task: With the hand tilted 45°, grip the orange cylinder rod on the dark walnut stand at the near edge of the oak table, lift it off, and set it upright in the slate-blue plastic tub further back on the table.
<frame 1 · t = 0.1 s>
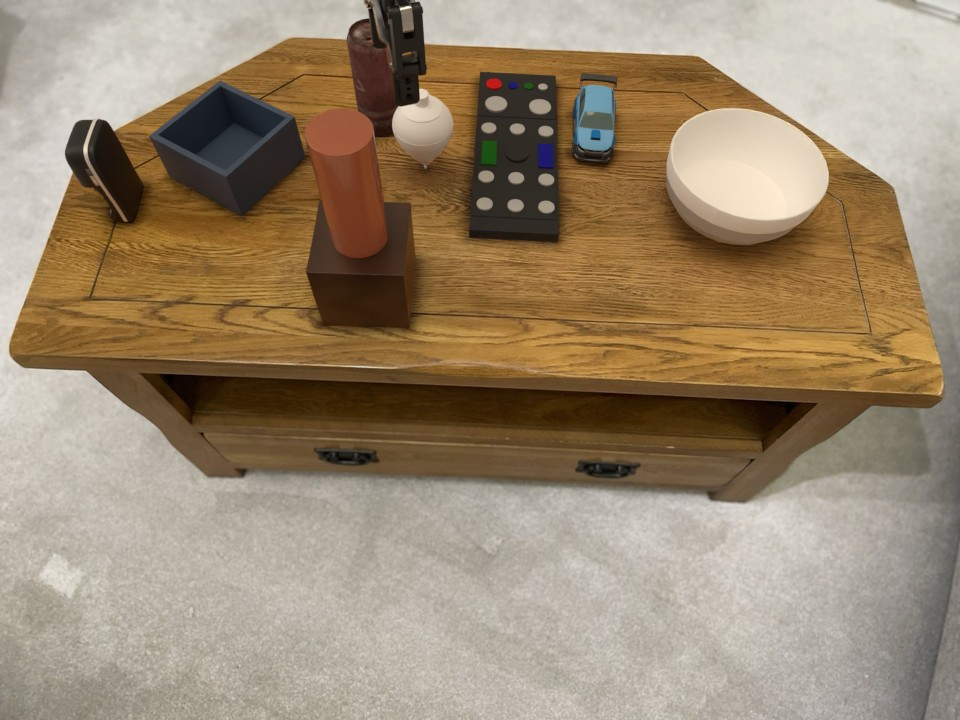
hand: (395, 73, 62), 24 cm above the tv stand, tool pointing down, fingers open, 8 cm apart
orange cylinder rod: (360, 236, 70), point 10 cm above the tv stand, touching stand
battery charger: (125, 205, 85), on the tv stand
spinning top: (425, 169, 90), on the tv stand
bowl: (723, 212, 87), on the tv stand
can: (382, 124, 94), on the tv stand
toy car: (591, 137, 93), on the tv stand
remote control: (515, 155, 91), on the tv stand
stand: (371, 291, 79), on the tv stand
tub: (238, 166, 89), on the tv stand
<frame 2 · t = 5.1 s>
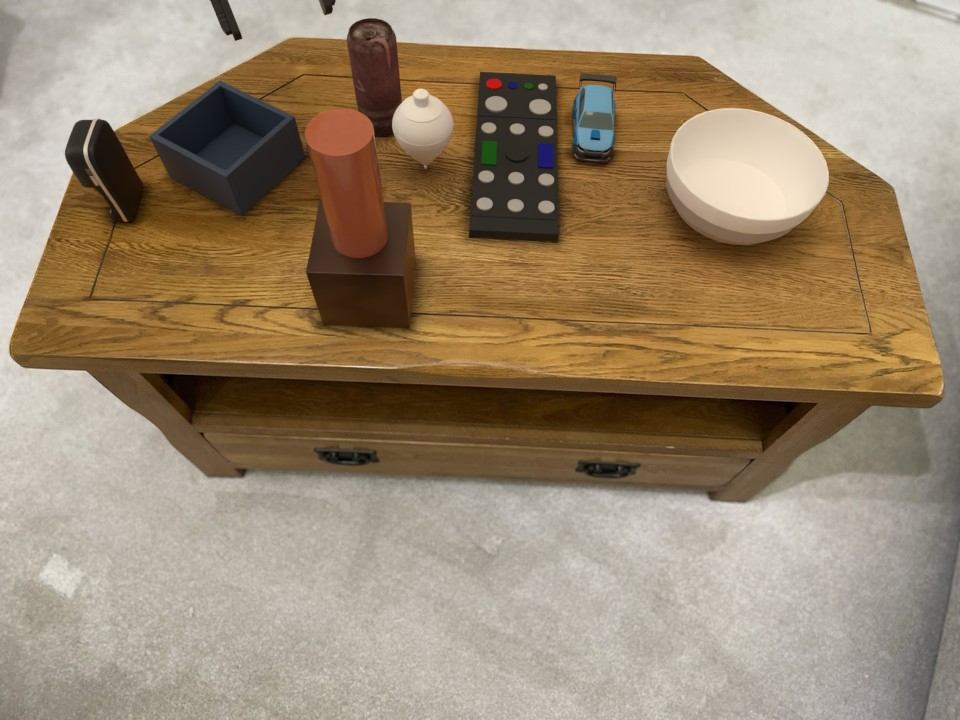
hand: (284, 25, 60), 27 cm above the tv stand, tool tilted 45°, fingers open, 8 cm apart
nothing on the tv stand moved.
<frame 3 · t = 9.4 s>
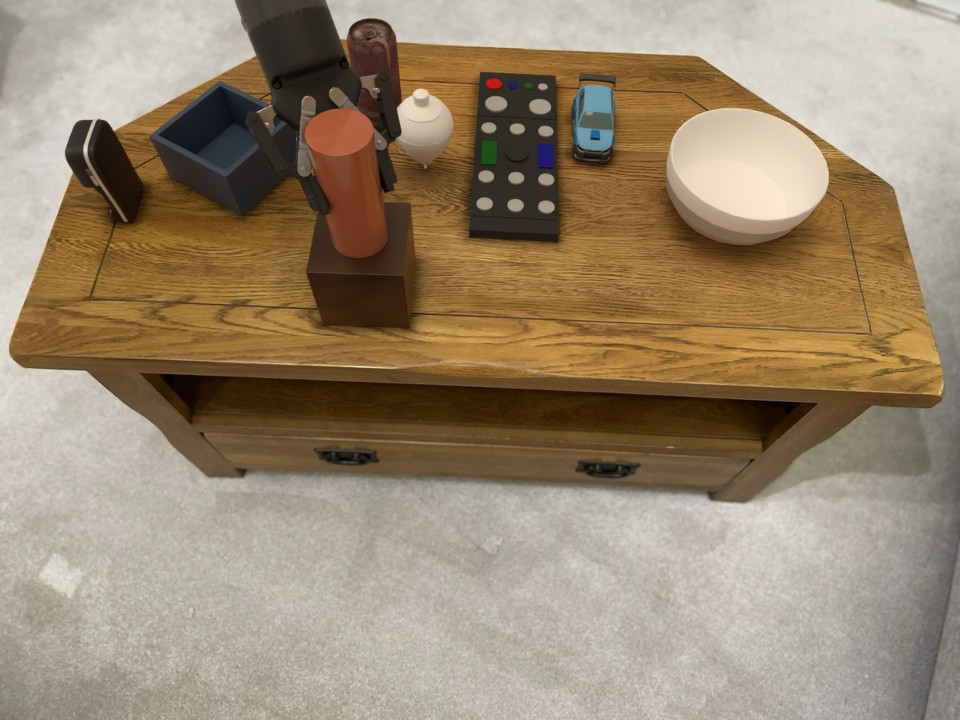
hand: (358, 202, 64), 17 cm above the tv stand, tool tilted 45°, fingers closed on orange cylinder rod, 6 cm apart
orange cylinder rod: (360, 236, 70), point 10 cm above the tv stand, touching gripper, stand
everything else where it was.
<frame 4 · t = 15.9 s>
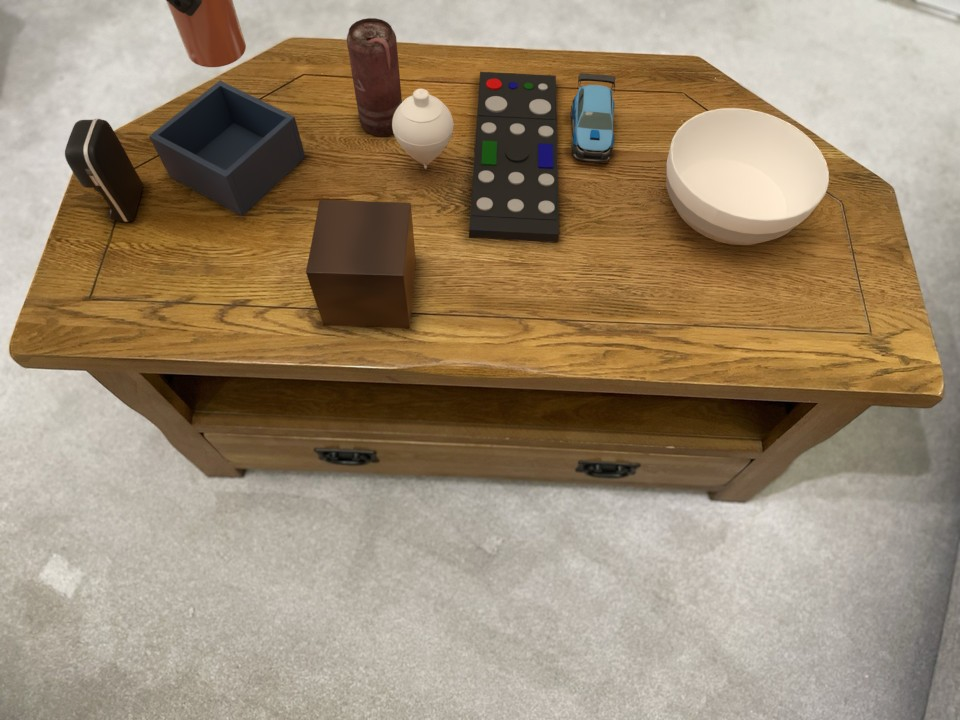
orange cylinder rod: (216, 49, 70), point 20 cm above the tv stand, touching gripper
everything else where it was.
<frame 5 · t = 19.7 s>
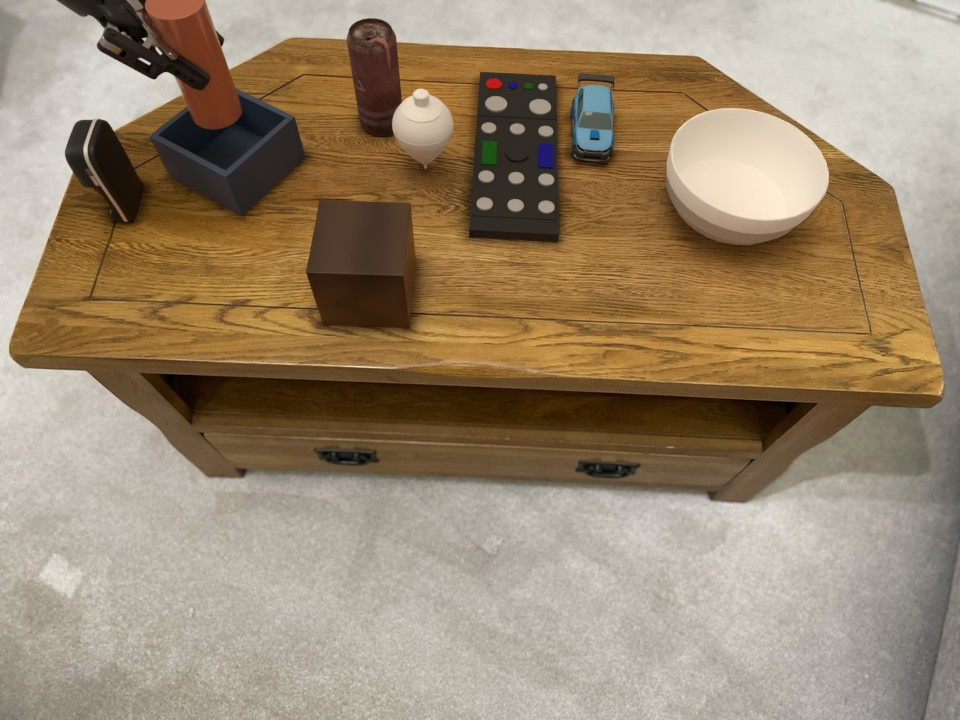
hand: (213, 64, 75), 16 cm above the tv stand, tool tilted 45°, fingers closed on orange cylinder rod, 6 cm apart
orange cylinder rod: (217, 112, 81), point 9 cm above the tv stand, touching gripper
everything else where it was.
when the fingers open (8 cm above the tv stand, at t = 22.6 s): orange cylinder rod stays where it is, resting on tub.
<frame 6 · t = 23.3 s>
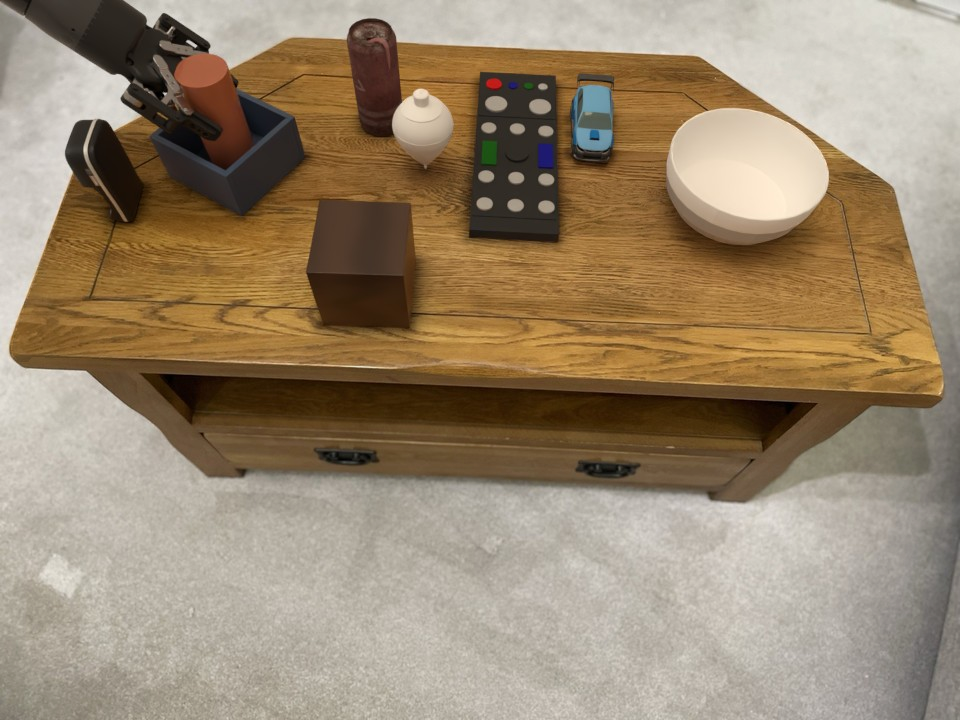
hand: (227, 111, 81), 9 cm above the tv stand, tool tilted 45°, fingers open, 8 cm apart
orange cylinder rod: (236, 162, 88), point 1 cm above the tv stand, touching tub
everything else where it was.
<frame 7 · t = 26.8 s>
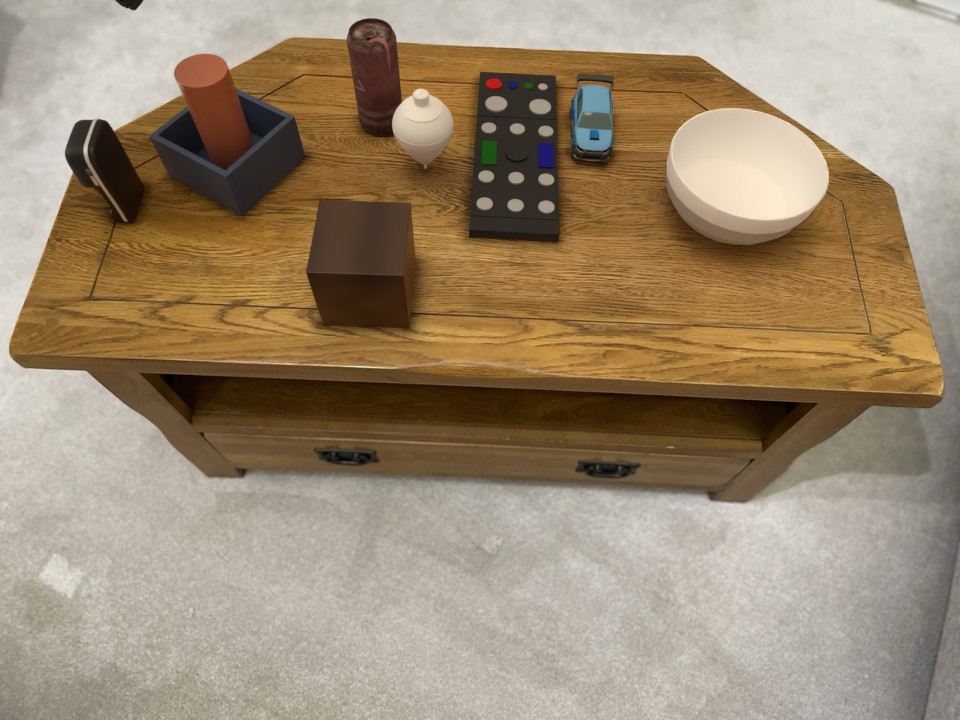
nothing on the tv stand moved.
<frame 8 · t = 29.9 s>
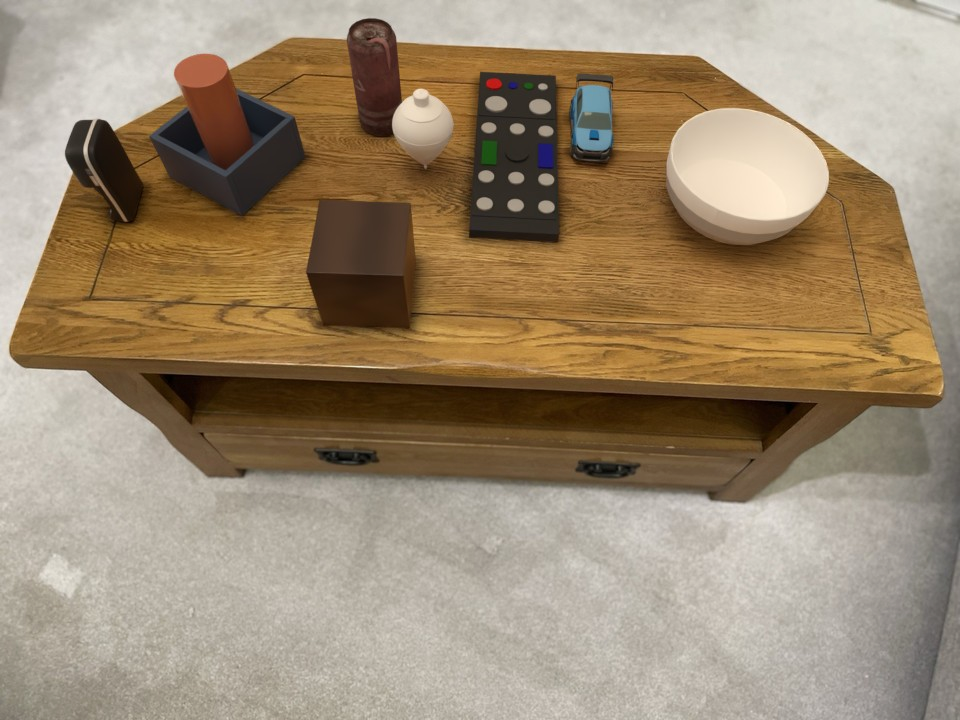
nothing on the tv stand moved.
at the end: orange cylinder rod inside the target area in the tub (0.0 cm from its centre), point 0.8 cm above the tub's base; orange cylinder rod tilted 0°; the gripper is holding nothing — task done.
